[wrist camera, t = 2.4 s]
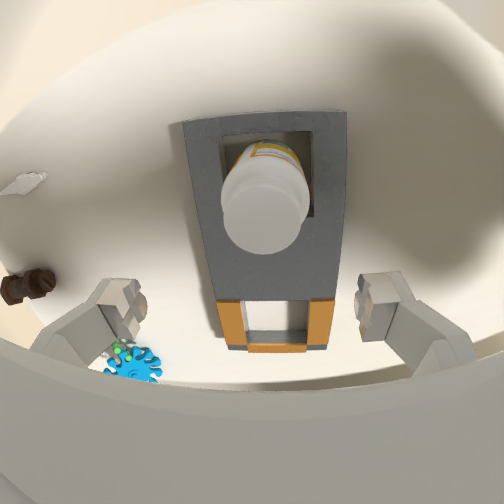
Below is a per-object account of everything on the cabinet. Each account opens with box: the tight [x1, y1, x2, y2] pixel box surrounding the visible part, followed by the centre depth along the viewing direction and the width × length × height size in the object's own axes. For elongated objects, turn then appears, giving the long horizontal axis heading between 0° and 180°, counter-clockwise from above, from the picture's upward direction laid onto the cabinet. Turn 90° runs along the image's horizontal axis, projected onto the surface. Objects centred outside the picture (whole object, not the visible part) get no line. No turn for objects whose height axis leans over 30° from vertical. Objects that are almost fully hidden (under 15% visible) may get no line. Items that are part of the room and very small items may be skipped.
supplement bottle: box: [221, 140, 310, 255], centre depth 18 cm, size 5×5×10 cm
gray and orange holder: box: [183, 110, 347, 353], centre depth 25 cm, size 12×26×2 cm, turn 5°
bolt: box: [0, 269, 56, 305], centre depth 31 cm, size 6×5×15 cm
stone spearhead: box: [0, 172, 47, 196], centre depth 24 cm, size 15×3×2 cm, turn 95°
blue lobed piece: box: [103, 338, 163, 383], centre depth 37 cm, size 11×6×10 cm
